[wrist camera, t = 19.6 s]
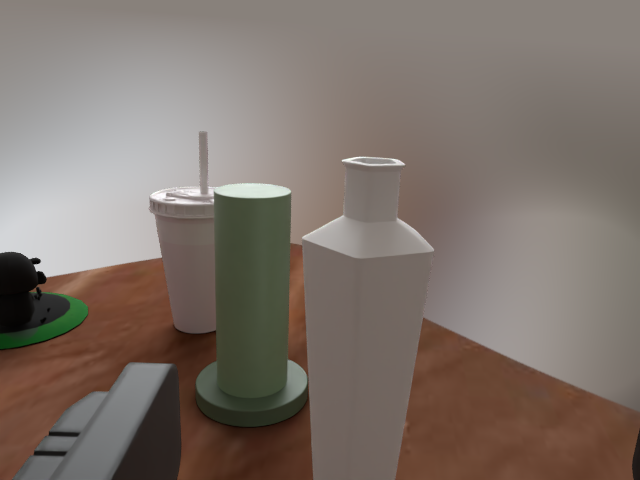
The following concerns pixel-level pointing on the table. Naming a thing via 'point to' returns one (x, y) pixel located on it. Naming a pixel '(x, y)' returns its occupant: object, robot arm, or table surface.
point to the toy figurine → (32, 304)
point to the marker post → (252, 311)
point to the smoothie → (189, 249)
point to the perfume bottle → (363, 325)
